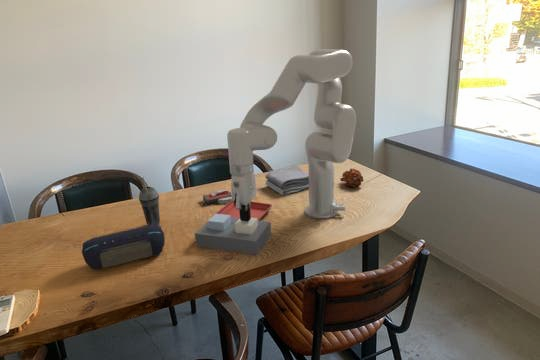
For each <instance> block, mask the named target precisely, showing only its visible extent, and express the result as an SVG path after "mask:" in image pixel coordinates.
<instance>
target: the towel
mask: <svg viewBox="0 0 540 360" xmlns="http://www.w3.org/2000/svg"><path fill="white" fill-rule="evenodd" d="M265 179H267V180H266V181H265V185H266V186H267V187H269V188H270V189H271V190H273V191H275V192H276V193H278V194H280V195H282V196H288V195H291V194H293V193H294V194H295V193H297V192H300V191H304V190H306V189H309V172H306V171H304V170H302V169H301V168H300V167H299V165H298V164H293V165H290V166H287V167H282V168H278V169H274V170H270V171H268V173H267V174H266V175H265Z"/></svg>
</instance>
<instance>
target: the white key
mask: <svg viewBox="0 0 540 360" xmlns="http://www.w3.org/2000/svg"><path fill="white" fill-rule="evenodd" d="M257 228H258V218H251V219H250V220H249V221H241V220H240V219H239V220H238V221H237V222H236V223H235V232H236V233H241V234H249V235H253V234H254V232H255V231H256V230H257Z"/></svg>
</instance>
